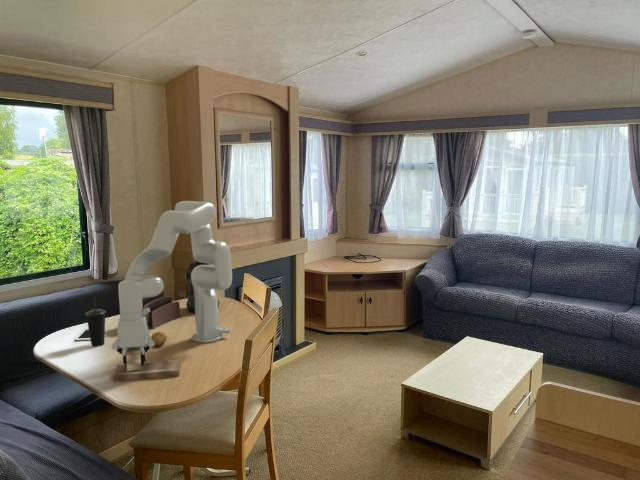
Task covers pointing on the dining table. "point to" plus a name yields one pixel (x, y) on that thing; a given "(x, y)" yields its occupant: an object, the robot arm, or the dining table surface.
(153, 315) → the letter holder
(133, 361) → the block
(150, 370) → the walnut board
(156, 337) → the croissant
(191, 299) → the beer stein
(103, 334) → the drinking cup
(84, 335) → the cell phone
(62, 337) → the dining table surface
